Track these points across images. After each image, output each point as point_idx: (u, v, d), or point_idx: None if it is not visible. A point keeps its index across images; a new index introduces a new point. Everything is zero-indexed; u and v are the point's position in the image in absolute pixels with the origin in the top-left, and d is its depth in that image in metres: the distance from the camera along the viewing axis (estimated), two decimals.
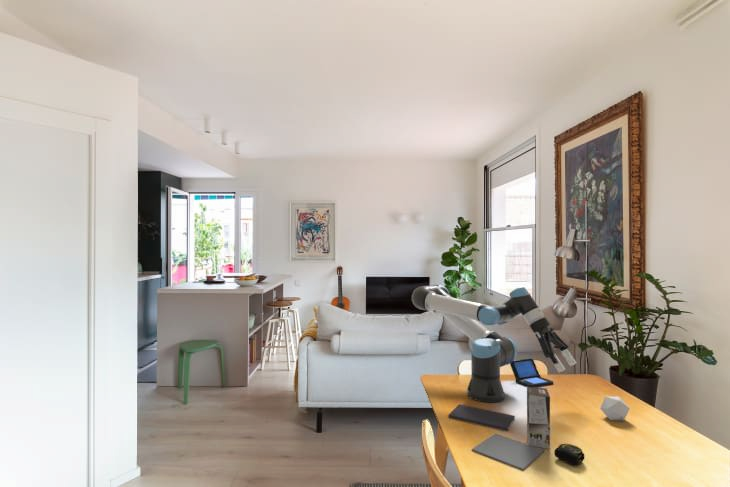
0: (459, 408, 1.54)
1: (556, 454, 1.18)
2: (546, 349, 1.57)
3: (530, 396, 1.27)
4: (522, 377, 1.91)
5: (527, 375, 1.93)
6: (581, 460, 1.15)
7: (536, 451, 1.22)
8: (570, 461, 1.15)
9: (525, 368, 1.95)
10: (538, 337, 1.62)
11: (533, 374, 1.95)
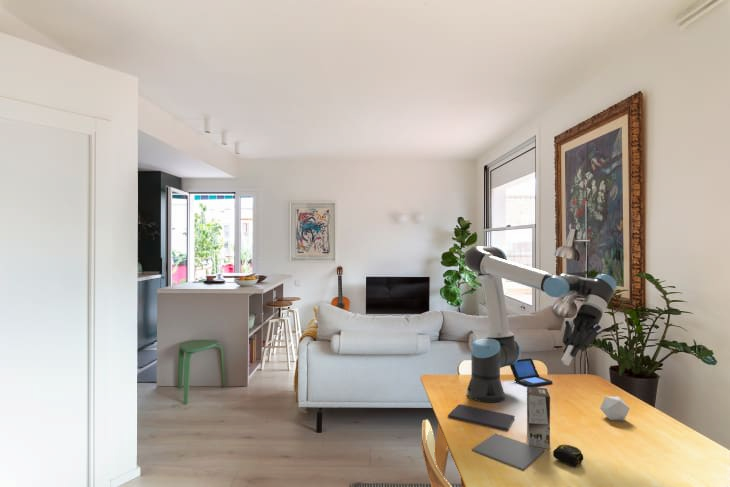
0: (459, 408, 1.54)
1: (555, 455, 1.17)
2: (587, 344, 1.37)
3: (530, 396, 1.27)
4: (521, 377, 1.91)
5: (526, 375, 1.93)
6: (580, 461, 1.15)
7: (536, 451, 1.22)
8: (569, 462, 1.14)
9: (524, 368, 1.95)
10: (597, 330, 1.38)
11: (532, 374, 1.95)
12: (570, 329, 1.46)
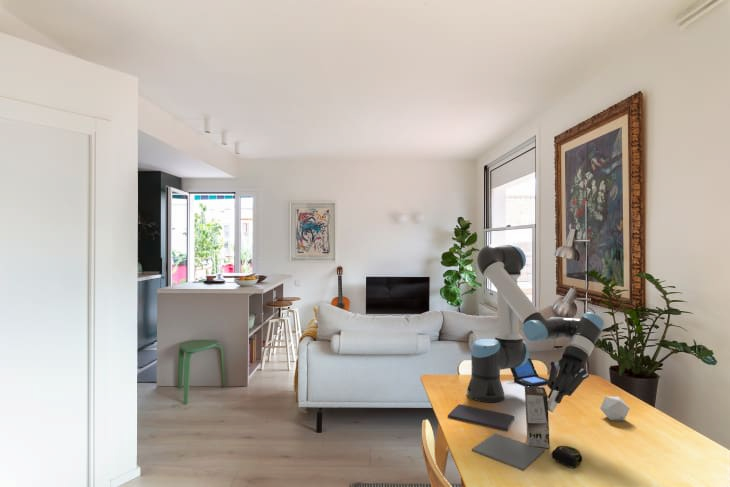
0: (459, 408, 1.54)
1: (553, 456, 1.17)
2: (572, 390, 1.32)
3: (528, 396, 1.27)
4: (520, 376, 1.92)
5: (525, 374, 1.94)
6: (579, 462, 1.14)
7: (536, 451, 1.22)
8: (567, 463, 1.14)
9: (523, 367, 1.96)
10: (582, 375, 1.32)
11: (531, 373, 1.96)
12: (555, 371, 1.40)
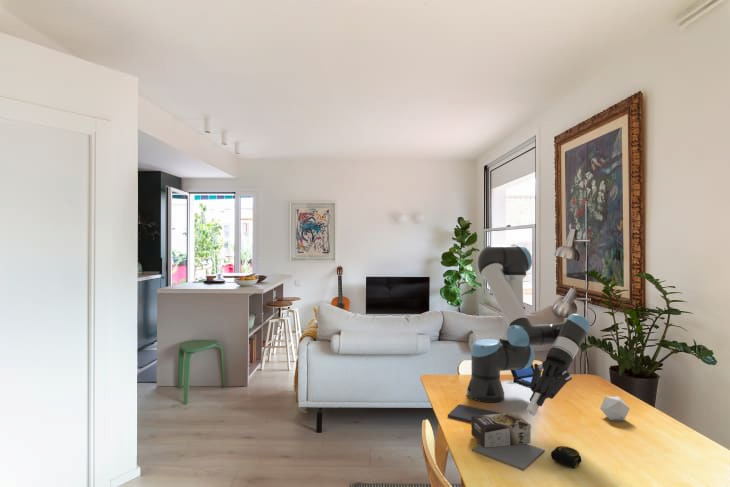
0: (459, 408, 1.54)
1: (553, 457, 1.16)
2: (554, 393, 1.28)
3: (485, 446, 1.24)
4: (520, 376, 1.92)
5: (524, 374, 1.94)
6: (578, 463, 1.14)
7: (536, 451, 1.22)
8: (567, 464, 1.13)
9: None
10: (565, 378, 1.29)
11: (530, 373, 1.96)
12: (539, 373, 1.37)
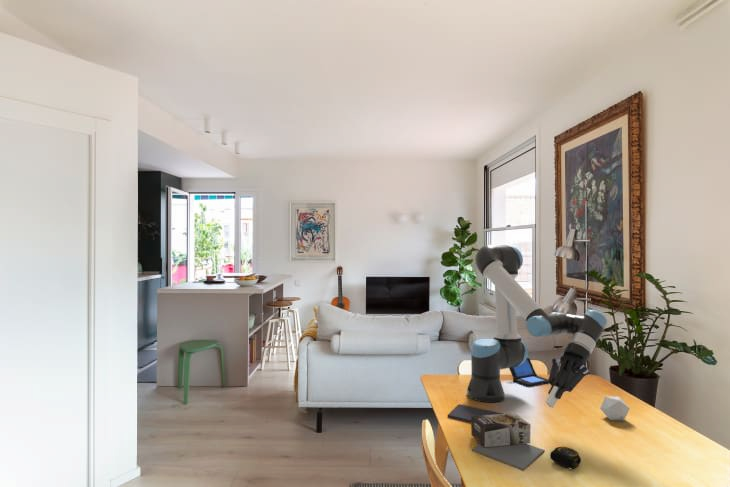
0: (459, 408, 1.54)
1: (552, 457, 1.16)
2: (572, 387, 1.33)
3: (485, 445, 1.24)
4: (519, 376, 1.92)
5: (524, 374, 1.95)
6: (577, 463, 1.14)
7: (536, 451, 1.22)
8: (566, 464, 1.13)
9: (522, 367, 1.96)
10: (583, 372, 1.33)
11: (530, 373, 1.96)
12: (557, 368, 1.42)
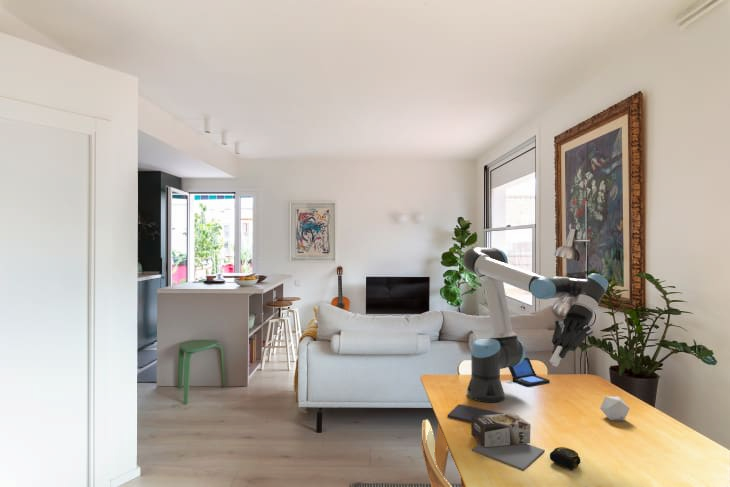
0: (458, 408, 1.54)
1: (551, 458, 1.16)
2: (576, 346, 1.35)
3: (485, 445, 1.24)
4: (519, 376, 1.93)
5: (523, 374, 1.95)
6: (577, 464, 1.13)
7: (536, 451, 1.22)
8: (566, 465, 1.13)
9: (521, 367, 1.97)
10: (586, 331, 1.35)
11: (529, 373, 1.97)
12: (560, 329, 1.43)
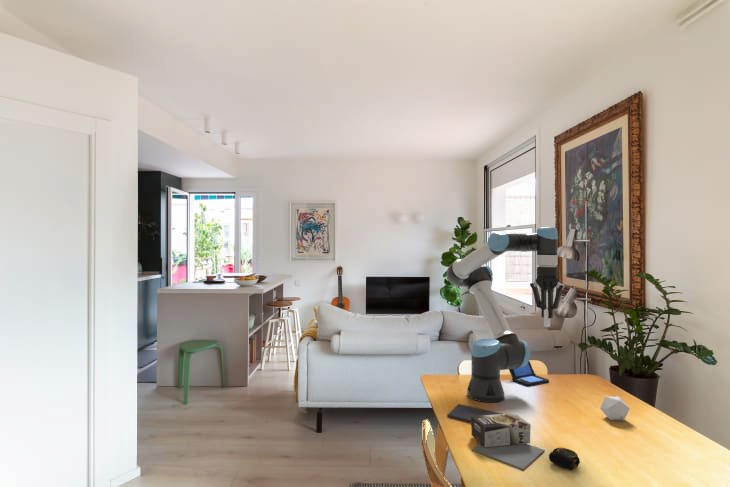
0: (458, 408, 1.54)
1: (551, 458, 1.15)
2: (558, 304, 1.55)
3: (485, 445, 1.24)
4: (518, 376, 1.93)
5: (523, 374, 1.95)
6: (576, 465, 1.13)
7: (536, 451, 1.22)
8: (565, 466, 1.12)
9: (521, 367, 1.97)
10: (561, 289, 1.54)
11: (529, 373, 1.97)
12: (537, 290, 1.61)
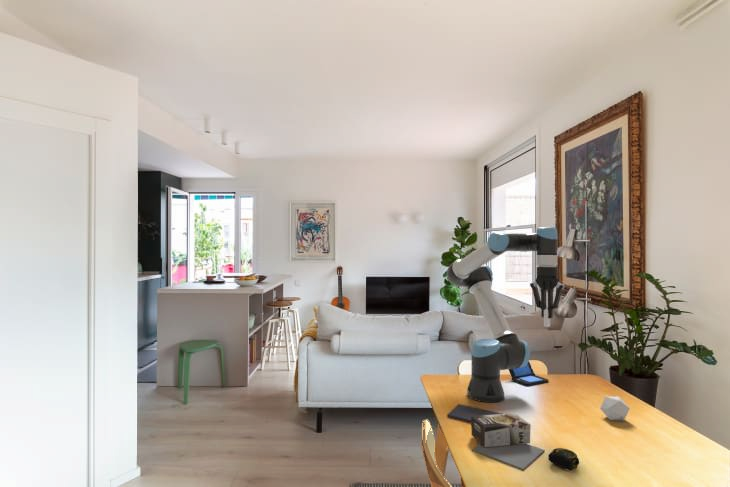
0: (458, 408, 1.54)
1: (550, 459, 1.15)
2: (558, 304, 1.55)
3: (485, 445, 1.24)
4: (518, 376, 1.93)
5: (522, 374, 1.95)
6: (575, 465, 1.13)
7: (536, 451, 1.22)
8: (564, 466, 1.12)
9: None
10: (561, 289, 1.54)
11: (528, 372, 1.97)
12: (536, 290, 1.61)
